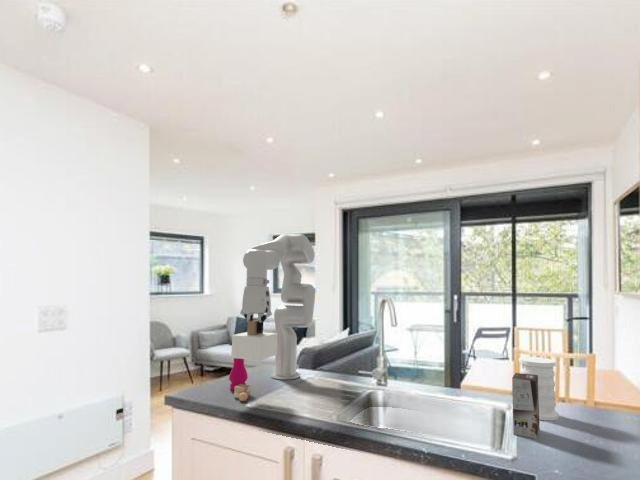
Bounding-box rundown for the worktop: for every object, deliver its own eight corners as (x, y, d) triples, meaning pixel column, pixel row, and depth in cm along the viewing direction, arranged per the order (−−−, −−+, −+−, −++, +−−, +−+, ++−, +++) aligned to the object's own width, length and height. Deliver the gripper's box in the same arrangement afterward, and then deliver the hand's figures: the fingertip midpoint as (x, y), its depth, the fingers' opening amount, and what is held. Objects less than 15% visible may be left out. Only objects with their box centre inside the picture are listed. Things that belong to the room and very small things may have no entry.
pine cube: (240, 395, 157) (240, 384, 157) (249, 396, 156) (249, 385, 156) (234, 397, 153) (234, 386, 154) (243, 399, 152) (243, 387, 152)
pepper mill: (245, 391, 162) (246, 339, 164) (226, 390, 162) (228, 338, 164) (248, 386, 169) (250, 336, 171) (231, 386, 169) (232, 336, 171)
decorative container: (512, 409, 143) (511, 356, 145) (544, 409, 144) (542, 356, 146) (532, 421, 132) (530, 363, 133) (567, 420, 133) (564, 363, 134)
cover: (249, 352, 161) (250, 318, 162) (276, 354, 156) (277, 319, 157) (231, 357, 150) (232, 321, 151) (260, 360, 145) (260, 323, 146)
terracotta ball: (241, 399, 151) (242, 391, 151) (249, 400, 150) (249, 391, 150) (237, 401, 148) (237, 393, 148) (244, 402, 147) (244, 394, 147)
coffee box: (537, 439, 117) (535, 380, 118) (512, 434, 120) (511, 377, 122) (540, 429, 124) (538, 374, 126) (516, 425, 128) (515, 371, 129)
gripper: (280, 283, 156) (279, 333, 154) (243, 282, 162) (242, 330, 161) (270, 283, 149) (269, 335, 147) (232, 282, 155) (231, 332, 154)
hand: (255, 332), depth 154 cm, fingers closed on cover, 3 cm apart
